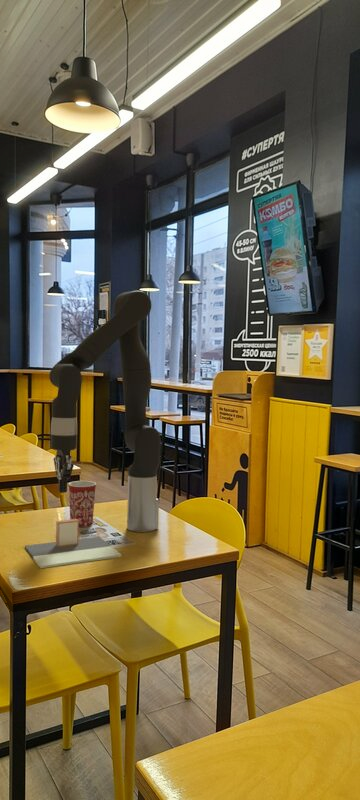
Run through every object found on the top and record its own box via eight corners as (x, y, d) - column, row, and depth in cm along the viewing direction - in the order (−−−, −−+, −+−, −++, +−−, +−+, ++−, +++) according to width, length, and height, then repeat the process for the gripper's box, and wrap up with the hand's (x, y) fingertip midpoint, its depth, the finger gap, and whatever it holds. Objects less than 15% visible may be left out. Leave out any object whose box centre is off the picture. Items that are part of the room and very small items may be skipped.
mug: (99, 526, 182) (100, 484, 181) (72, 529, 177) (73, 487, 177) (86, 516, 193) (87, 477, 192) (60, 519, 188) (61, 479, 188)
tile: (76, 542, 162) (76, 518, 161) (78, 544, 160) (78, 520, 160) (55, 545, 159) (56, 520, 159) (57, 547, 157) (57, 522, 157)
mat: (99, 538, 168) (99, 536, 168) (121, 556, 152) (121, 554, 152) (24, 547, 158) (24, 545, 158) (40, 568, 142) (40, 566, 142)
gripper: (83, 435, 158) (82, 495, 159) (70, 430, 170) (68, 486, 171) (57, 435, 155) (55, 497, 156) (45, 430, 166) (44, 488, 167)
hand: (62, 492), depth 163 cm, fingers closed
